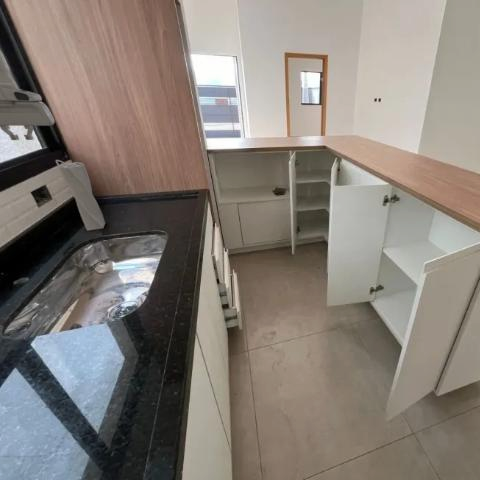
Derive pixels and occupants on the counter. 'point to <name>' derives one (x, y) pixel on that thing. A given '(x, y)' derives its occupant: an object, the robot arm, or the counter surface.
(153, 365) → the counter surface
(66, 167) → the grey twisted bar
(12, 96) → the robot arm
